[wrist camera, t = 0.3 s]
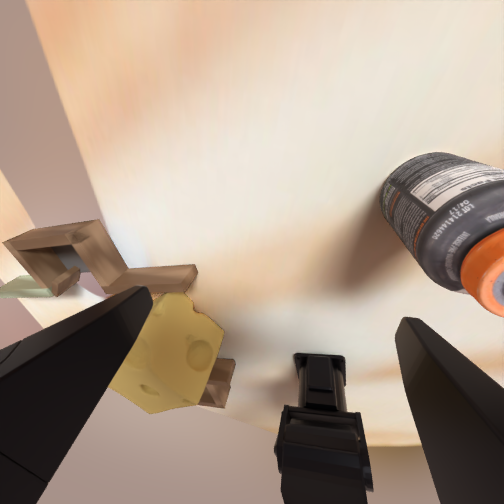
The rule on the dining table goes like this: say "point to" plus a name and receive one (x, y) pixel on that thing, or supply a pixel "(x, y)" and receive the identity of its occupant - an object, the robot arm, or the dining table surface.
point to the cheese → (169, 356)
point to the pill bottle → (451, 222)
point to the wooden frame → (99, 278)
